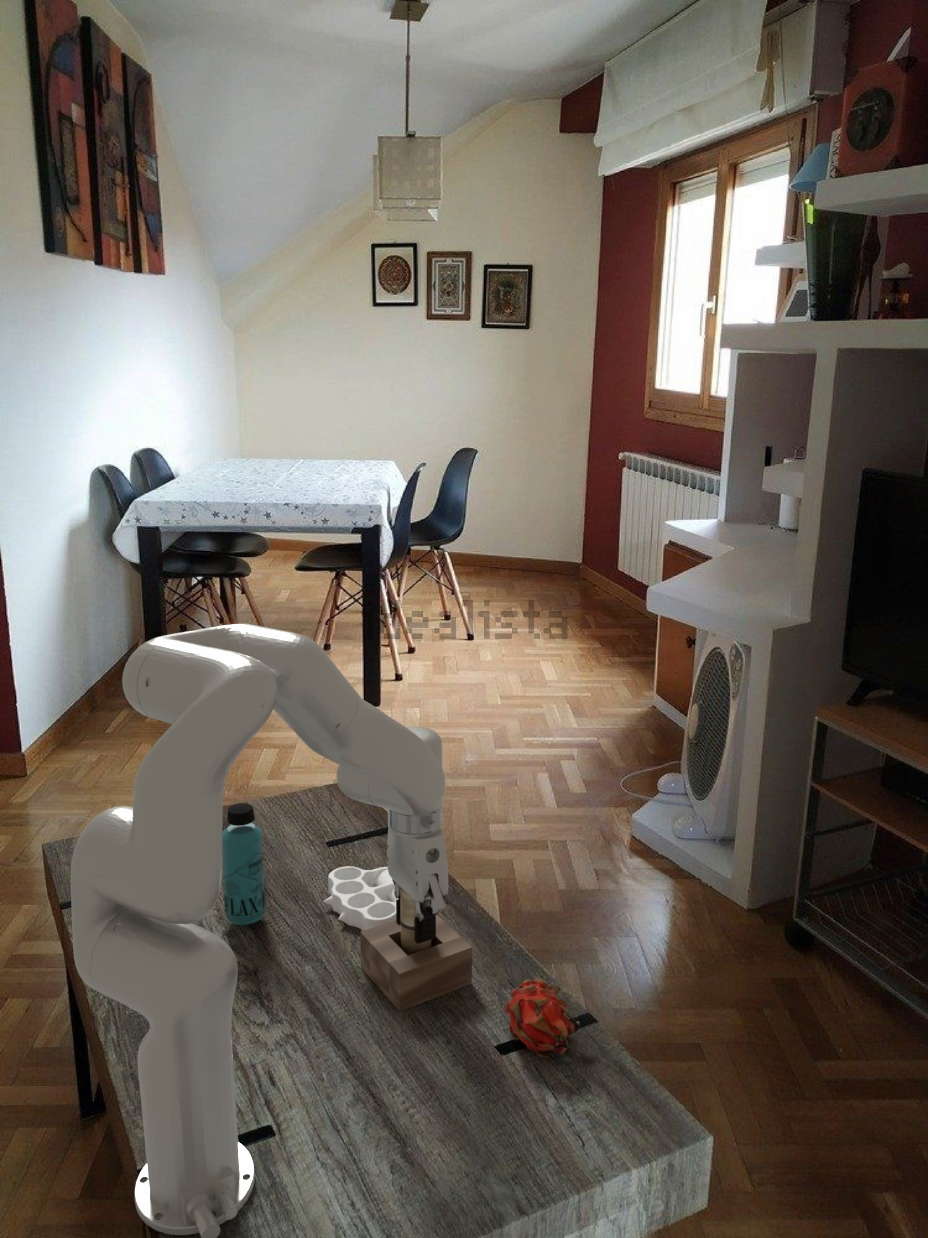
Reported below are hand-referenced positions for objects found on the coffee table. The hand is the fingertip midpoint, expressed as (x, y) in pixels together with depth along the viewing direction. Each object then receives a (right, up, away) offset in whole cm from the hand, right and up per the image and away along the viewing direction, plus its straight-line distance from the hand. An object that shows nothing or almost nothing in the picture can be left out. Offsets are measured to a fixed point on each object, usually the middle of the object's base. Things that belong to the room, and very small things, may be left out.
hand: (415, 929), depth 142 cm
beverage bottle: (-28, -4, +15) cm, 31 cm away
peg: (0, -3, +1) cm, 3 cm away
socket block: (0, -7, +2) cm, 8 cm away
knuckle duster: (-8, -3, +20) cm, 22 cm away
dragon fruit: (+17, -11, -11) cm, 24 cm away
